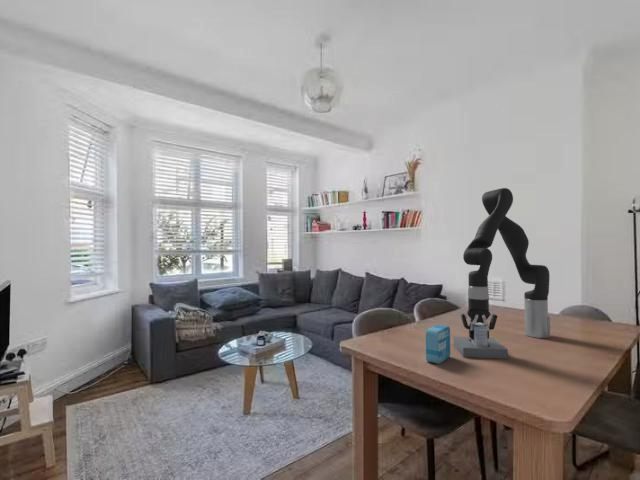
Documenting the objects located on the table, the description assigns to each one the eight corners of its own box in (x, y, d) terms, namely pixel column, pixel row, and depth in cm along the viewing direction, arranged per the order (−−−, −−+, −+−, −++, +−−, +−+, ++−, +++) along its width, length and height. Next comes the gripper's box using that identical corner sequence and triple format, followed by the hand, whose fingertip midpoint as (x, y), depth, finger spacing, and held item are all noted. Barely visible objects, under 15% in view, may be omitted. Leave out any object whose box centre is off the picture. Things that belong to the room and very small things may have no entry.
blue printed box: (437, 365, 120) (437, 331, 120) (425, 362, 123) (425, 329, 123) (450, 356, 129) (450, 325, 129) (439, 354, 132) (438, 323, 132)
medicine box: (488, 349, 131) (487, 327, 131) (475, 349, 131) (475, 327, 132) (482, 343, 138) (482, 322, 138) (470, 343, 139) (470, 322, 139)
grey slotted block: (493, 346, 141) (493, 338, 141) (507, 358, 126) (507, 349, 126) (453, 345, 143) (453, 337, 143) (463, 356, 129) (463, 347, 129)
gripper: (493, 295, 138) (494, 337, 138) (457, 295, 140) (458, 336, 140) (500, 298, 130) (501, 342, 130) (462, 298, 132) (462, 341, 132)
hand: (478, 339), depth 135 cm, fingers closed on medicine box, 4 cm apart
